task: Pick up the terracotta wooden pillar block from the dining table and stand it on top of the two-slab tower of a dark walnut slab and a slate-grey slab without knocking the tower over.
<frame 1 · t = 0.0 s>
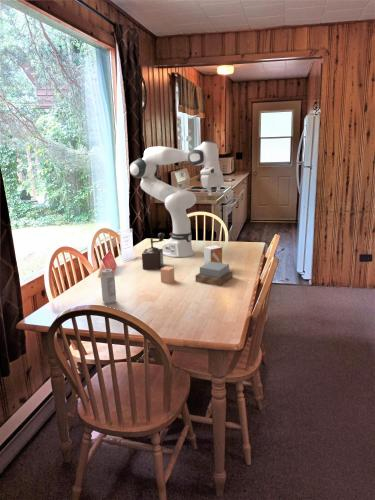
hand: (214, 194, 233), 39 cm above the table, tool pointing down, fingers open, 8 cm apart
pillar block: (167, 281, 207), on the table
energy drink can: (109, 302, 183), on the table
pepper mill: (154, 265, 234), on the table
small box: (213, 270, 223), on the table
tower base: (214, 280, 208), on the table, touching tower top
tower top: (214, 273, 207), point 3 cm above the table, touching tower base
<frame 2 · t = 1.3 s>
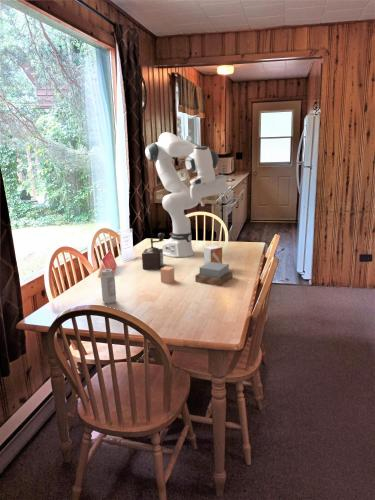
hand: (211, 204, 213), 37 cm above the table, tool pointing down, fingers open, 8 cm apart
nothing on the table moved.
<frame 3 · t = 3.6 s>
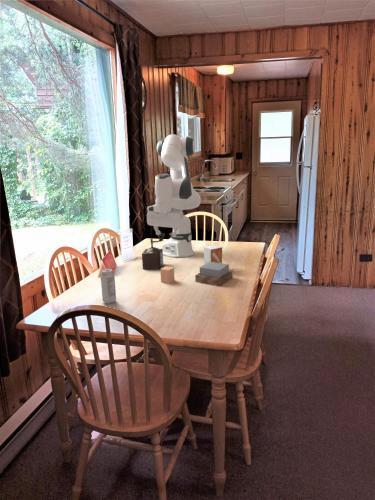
hand: (165, 235, 201), 24 cm above the table, tool pointing down, fingers open, 8 cm apart
tower base: (214, 280, 208), on the table
tower top: (214, 273, 207), point 3 cm above the table
everything else where it was.
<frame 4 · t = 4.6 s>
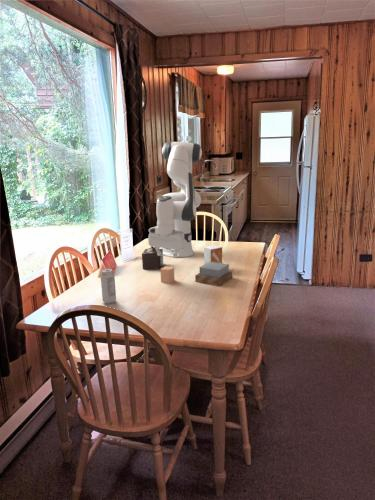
hand: (167, 256, 203), 13 cm above the table, tool pointing down, fingers open, 8 cm apart
tower base: (214, 280, 208), on the table, touching tower top
tower top: (214, 273, 207), point 3 cm above the table, touching tower base
everything else where it was.
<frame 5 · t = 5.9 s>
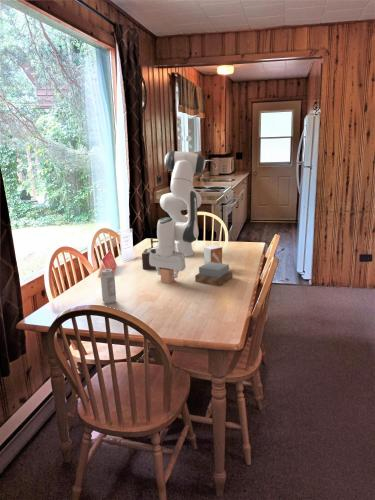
hand: (167, 276, 206), 3 cm above the table, tool pointing down, fingers open, 8 cm apart
nothing on the table moved.
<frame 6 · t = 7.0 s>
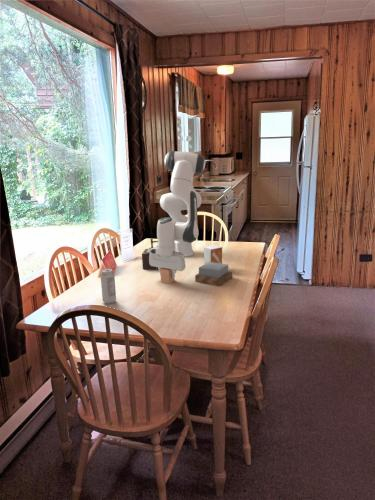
hand: (167, 276, 206), 3 cm above the table, tool pointing down, fingers closed on pillar block, 5 cm apart
pillar block: (167, 281, 207), on the table, touching gripper
everything else where it was.
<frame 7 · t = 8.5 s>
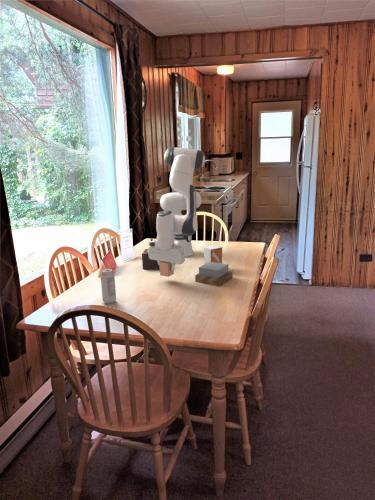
hand: (166, 269, 206), 6 cm above the table, tool pointing down, fingers closed on pillar block, 5 cm apart
pillar block: (167, 274, 207), point 3 cm above the table, touching gripper
tower base: (214, 280, 208), on the table
tower top: (213, 273, 206), point 3 cm above the table
everything else where it was.
when the fingers open (12 cm above the table, at t = 15.1 s): pillar block drops 2 cm, resting on tower top.
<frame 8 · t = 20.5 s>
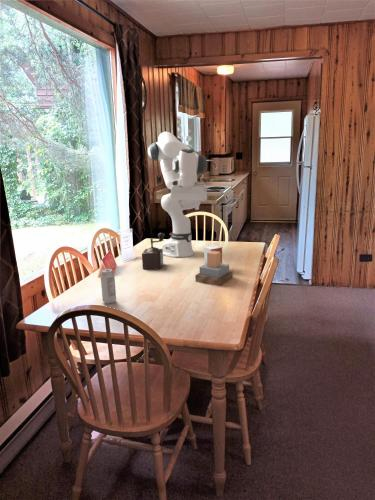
hand: (189, 208, 209), 35 cm above the table, tool pointing down, fingers open, 8 cm apart
pillar block: (213, 265, 206), point 7 cm above the table, touching tower top
tower base: (214, 280, 208), on the table, touching tower top
tower top: (214, 273, 207), point 3 cm above the table, touching pillar block, tower base
everything else where it was.
at the end: pillar block inside the target area on the tower top (0.3 cm from its centre), point 4.1 cm above the tower top's base; pillar block tilted 1°; tower top 0.2 cm off-centre on the tower base, point 4.0 cm above the tower base's base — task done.
